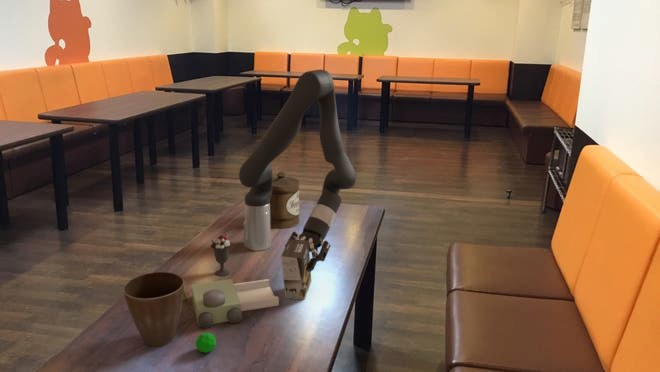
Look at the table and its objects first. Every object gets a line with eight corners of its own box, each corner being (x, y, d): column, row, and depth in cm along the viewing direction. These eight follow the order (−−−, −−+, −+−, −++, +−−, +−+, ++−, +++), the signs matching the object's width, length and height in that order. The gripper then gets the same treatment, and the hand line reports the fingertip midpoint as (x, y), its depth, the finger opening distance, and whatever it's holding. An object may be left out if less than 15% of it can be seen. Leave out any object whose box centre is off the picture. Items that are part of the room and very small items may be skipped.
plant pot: (155, 362, 134) (150, 304, 129) (116, 343, 141) (110, 288, 137) (199, 334, 146) (196, 280, 141) (161, 318, 153) (157, 267, 149)
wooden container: (297, 228, 222) (297, 177, 216) (261, 228, 222) (260, 176, 216) (300, 216, 236) (300, 167, 230) (266, 215, 236) (265, 167, 230)
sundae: (236, 270, 184) (234, 229, 179) (224, 278, 178) (222, 236, 174) (220, 266, 186) (218, 226, 182) (208, 274, 181) (206, 232, 176)
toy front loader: (192, 296, 166) (190, 274, 164) (268, 285, 174) (268, 264, 171) (198, 329, 148) (197, 305, 146) (284, 315, 156) (283, 292, 154)
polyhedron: (192, 353, 138) (191, 337, 136) (203, 343, 142) (202, 327, 141) (209, 358, 136) (208, 341, 135) (220, 347, 140) (219, 331, 139)
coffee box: (305, 300, 165) (301, 258, 157) (284, 297, 166) (280, 256, 158) (312, 281, 172) (309, 239, 164) (293, 278, 174) (288, 237, 166)
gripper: (296, 211, 173) (273, 256, 167) (333, 220, 165) (310, 268, 159) (307, 222, 179) (285, 266, 173) (342, 232, 171) (321, 278, 165)
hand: (297, 267), depth 166 cm, fingers closed on coffee box, 8 cm apart
